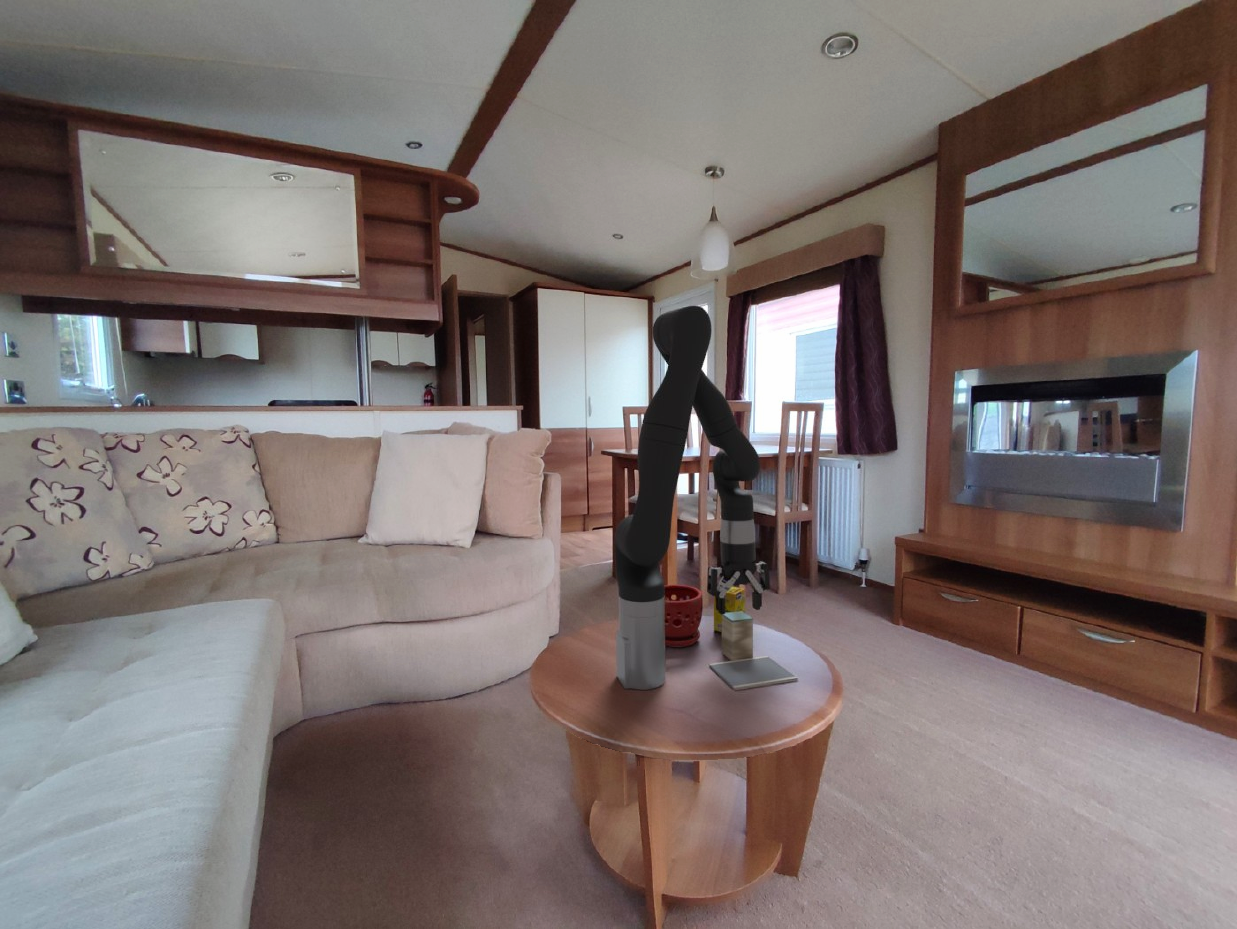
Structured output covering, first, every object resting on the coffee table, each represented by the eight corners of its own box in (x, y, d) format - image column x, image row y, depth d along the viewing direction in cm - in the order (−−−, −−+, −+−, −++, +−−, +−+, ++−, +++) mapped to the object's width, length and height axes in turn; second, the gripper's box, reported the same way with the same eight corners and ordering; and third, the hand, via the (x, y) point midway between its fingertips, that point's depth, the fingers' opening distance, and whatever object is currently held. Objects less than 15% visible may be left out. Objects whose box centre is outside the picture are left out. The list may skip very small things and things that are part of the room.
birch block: (732, 661, 112) (732, 620, 112) (721, 652, 117) (721, 613, 116) (752, 658, 113) (752, 618, 113) (741, 649, 118) (741, 611, 118)
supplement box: (735, 638, 125) (735, 594, 124) (713, 633, 128) (713, 590, 128) (745, 631, 130) (745, 588, 129) (723, 626, 133) (723, 584, 133)
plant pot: (646, 631, 131) (646, 584, 130) (698, 630, 130) (698, 583, 130) (649, 652, 117) (649, 600, 117) (707, 651, 117) (706, 599, 117)
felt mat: (734, 690, 99) (734, 687, 99) (709, 666, 109) (709, 664, 109) (797, 680, 103) (797, 677, 103) (767, 658, 113) (767, 655, 113)
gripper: (715, 545, 108) (717, 620, 109) (775, 539, 112) (776, 612, 113) (700, 538, 115) (702, 609, 116) (757, 533, 119) (758, 602, 120)
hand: (739, 611), depth 115 cm, fingers open, 8 cm apart
